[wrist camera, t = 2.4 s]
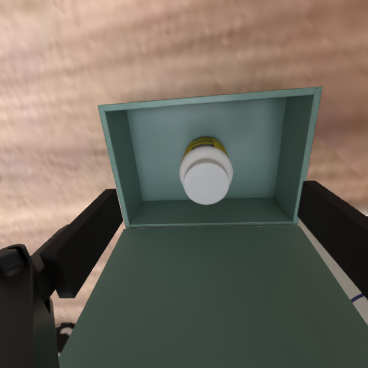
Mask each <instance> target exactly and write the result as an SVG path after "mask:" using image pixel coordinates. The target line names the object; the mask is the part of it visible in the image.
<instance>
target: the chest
mask: <svg viewBox="0 0 368 368" xmlns="http://www.w3.org/2000/svg"><path fill="white" fill-rule="evenodd" d="M321 92H322V86H321V87H309V88H297V89H285V90H273V91H262V92H250V93H238V94H226V95H214V96H202V97H190V98H179V99H167V100H155V101H143V102H131V103H119V104H108V105H98V110H99V114H100V118H101V123H102V127H103V131H104V136H105V140H106V145H107V149H108V153H109V158H110V162H111V166H112V171H113V175H114V179H115V184H116V188H117V192H118V197H119V201H120V205H121V210H122V214H123V218H124V223H125V227H126V229H130V228H131V229H137V228H197V227H257V226H298V221H299V218H298V217H297V213H298V207H299V201H300V196H301V190H302V184H303V181H306V176H307V171H308V165H309V160H310V154H311V148H312V143H313V137H314V131H315V126H316V120H317V115H318V109H319V103H320V98H321ZM201 136H211V137H214V138H216V139H217V140H219V141H220V142H221V143H222V144H223V146H224V148H225V150H226V152H227V154H228V156H229V159H230V161H231V164H232V168H233V177H232V181H231V183H230V185H229V189H228V192H227V194H226V195H225V196H224V197H223V198H222V199H221V200H220V201H218V202H216V203H214V204H209V205H204V204H199V203H196V202H194V201H193V200H191V199H190V198H189V197H188V195H187V194H186V192H185V190H184V186H183V185H182V183H181V180H180V176H179V170H180V165H181V162H182V159H183V156H184V153H185V151H186V148H187V146H188V145H189V144H190V142H192V141H193V140H194V139H196V138H198V137H201Z"/></svg>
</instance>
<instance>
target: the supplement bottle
mask: <svg viewBox="0 0 368 368" xmlns="http://www.w3.org/2000/svg"><path fill="white" fill-rule="evenodd" d="M179 176H180V180H181V183H182V185H183V186H184V190H185V192H186V194H187V195H188V197H189V198H190V199H191V200H193V201H194V202H196V203H199V204H204V205H209V204H214V203H216V202H218V201H220V200H221V199H222V198H223V197H224V196H225V195H226V194H227V192H228V189H229V185H230V183H231V181H232V177H233V168H232V164H231V161H230V159H229V156H228V154H227V152H226V150H225V148H224V146H223V144H222V143H221V142H220V141H219V140H217V139H216V138H214V137H211V136H201V137H198V138H196V139H194V140H193V141H192V142H190V144H189V145H188V146H187V148H186V151H185V153H184V156H183V159H182V162H181V165H180V170H179Z"/></svg>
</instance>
